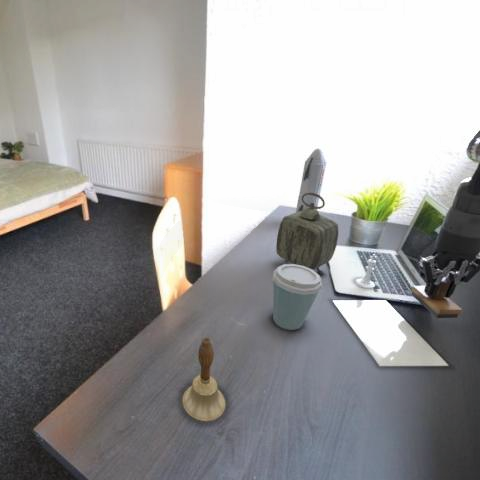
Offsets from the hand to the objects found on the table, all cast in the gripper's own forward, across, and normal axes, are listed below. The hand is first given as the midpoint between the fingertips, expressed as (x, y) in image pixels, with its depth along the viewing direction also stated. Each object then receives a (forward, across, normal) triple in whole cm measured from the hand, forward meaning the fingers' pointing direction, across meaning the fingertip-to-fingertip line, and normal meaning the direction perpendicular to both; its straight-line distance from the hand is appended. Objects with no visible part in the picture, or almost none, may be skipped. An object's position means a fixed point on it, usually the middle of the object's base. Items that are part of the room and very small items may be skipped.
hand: (437, 295), depth 78 cm
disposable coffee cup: (+8, -34, 0) cm, 34 cm away
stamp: (+3, 0, 0) cm, 3 cm away
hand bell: (+7, -56, -23) cm, 61 cm away
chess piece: (+8, -7, +16) cm, 19 cm away
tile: (+8, -12, -3) cm, 15 cm away
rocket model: (+8, -9, +58) cm, 59 cm away
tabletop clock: (+8, -23, +24) cm, 34 cm away
